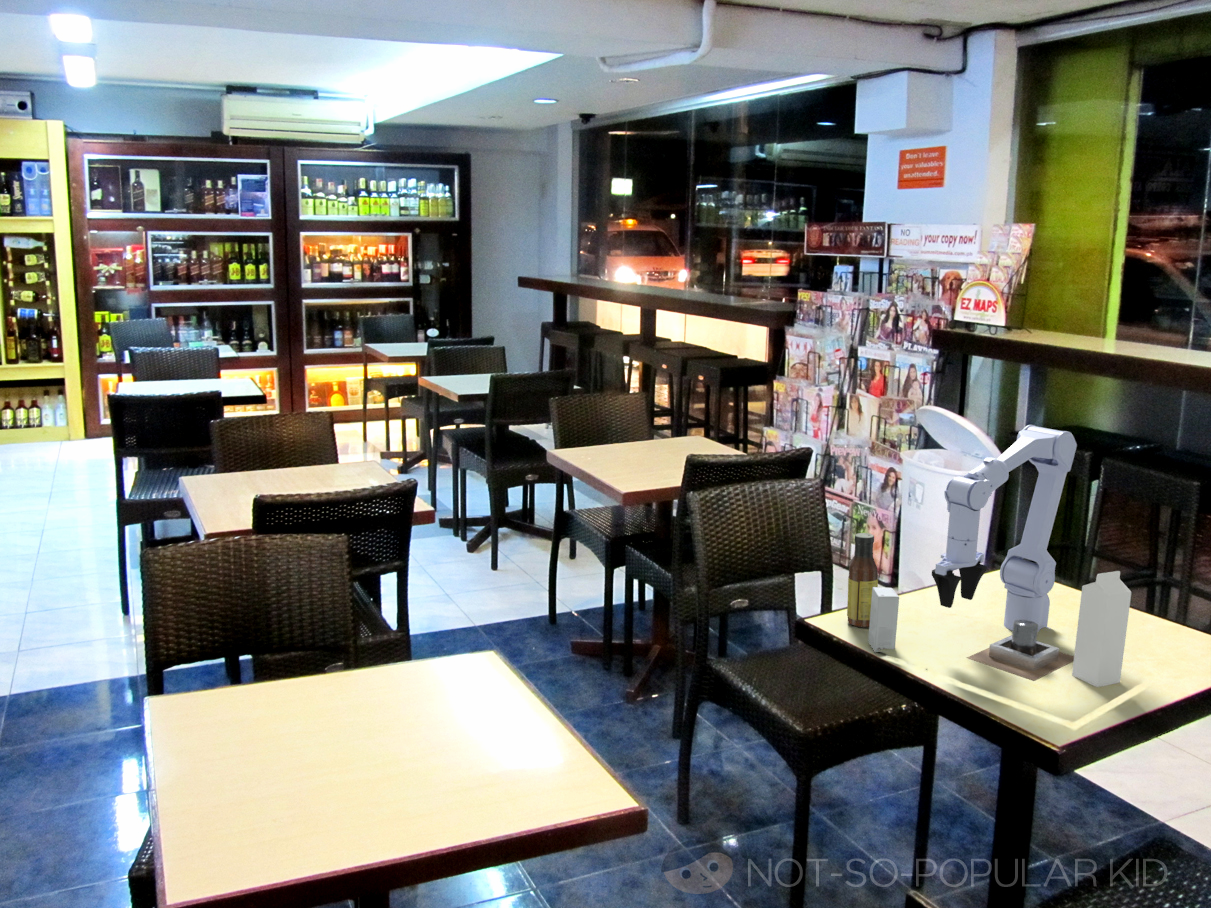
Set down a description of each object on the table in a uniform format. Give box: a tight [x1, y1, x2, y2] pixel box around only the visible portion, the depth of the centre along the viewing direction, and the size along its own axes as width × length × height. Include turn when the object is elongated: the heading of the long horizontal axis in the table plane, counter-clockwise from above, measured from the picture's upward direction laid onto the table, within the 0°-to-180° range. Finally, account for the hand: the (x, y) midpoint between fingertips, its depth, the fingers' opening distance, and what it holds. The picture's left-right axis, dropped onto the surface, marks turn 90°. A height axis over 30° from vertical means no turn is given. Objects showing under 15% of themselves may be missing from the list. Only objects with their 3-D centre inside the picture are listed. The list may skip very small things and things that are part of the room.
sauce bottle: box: [846, 532, 879, 629], centre depth 227 cm, size 7×6×20 cm
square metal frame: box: [989, 634, 1060, 671], centre depth 209 cm, size 9×9×2 cm
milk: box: [1071, 570, 1132, 688], centre depth 198 cm, size 6×6×22 cm
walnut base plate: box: [966, 647, 1074, 682], centre depth 209 cm, size 18×14×1 cm
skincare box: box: [867, 586, 900, 653], centre depth 214 cm, size 6×4×12 cm
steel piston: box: [1011, 620, 1039, 656], centre depth 209 cm, size 4×4×7 cm
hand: (956, 602), depth 212 cm, fingers open, 7 cm apart
